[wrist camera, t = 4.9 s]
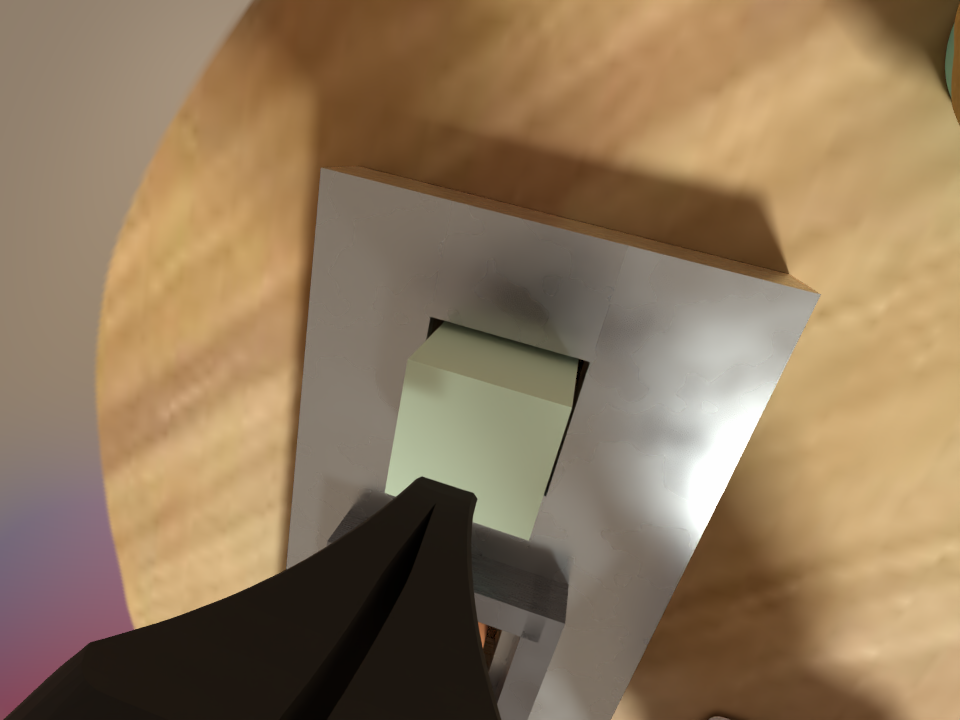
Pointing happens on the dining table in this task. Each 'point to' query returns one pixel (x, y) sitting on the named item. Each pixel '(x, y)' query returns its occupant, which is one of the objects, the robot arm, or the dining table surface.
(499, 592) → the control box
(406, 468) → the pale green block
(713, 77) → the dining table surface
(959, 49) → the cupcake
